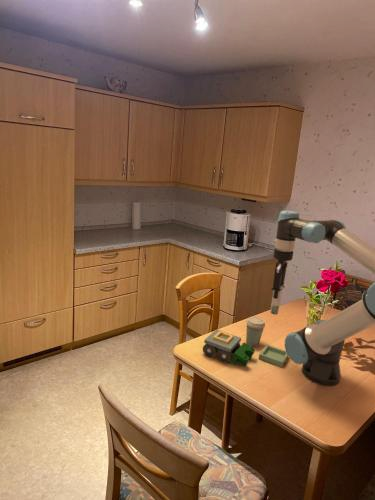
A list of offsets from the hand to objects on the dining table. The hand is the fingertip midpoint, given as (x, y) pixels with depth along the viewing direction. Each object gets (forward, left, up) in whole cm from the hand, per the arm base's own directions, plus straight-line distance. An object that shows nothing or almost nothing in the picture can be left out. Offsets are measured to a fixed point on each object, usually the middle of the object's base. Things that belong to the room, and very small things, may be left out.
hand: (275, 303), depth 155 cm
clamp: (+8, +9, -26) cm, 29 cm away
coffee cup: (+9, -8, -26) cm, 29 cm away
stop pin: (0, 0, -4) cm, 4 cm away
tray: (-3, -2, -26) cm, 26 cm away
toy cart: (+17, +10, -26) cm, 33 cm away
